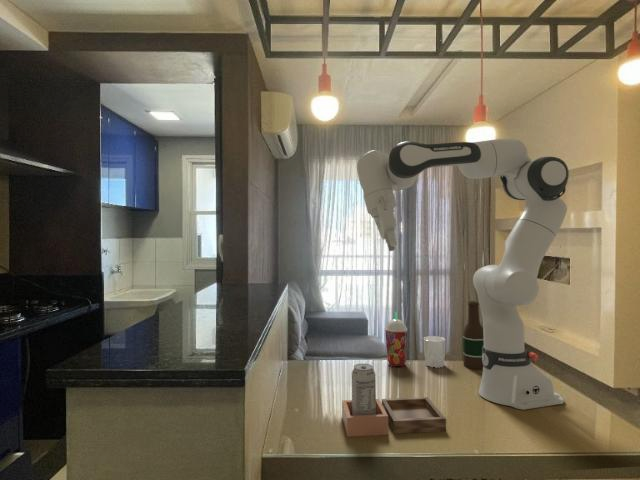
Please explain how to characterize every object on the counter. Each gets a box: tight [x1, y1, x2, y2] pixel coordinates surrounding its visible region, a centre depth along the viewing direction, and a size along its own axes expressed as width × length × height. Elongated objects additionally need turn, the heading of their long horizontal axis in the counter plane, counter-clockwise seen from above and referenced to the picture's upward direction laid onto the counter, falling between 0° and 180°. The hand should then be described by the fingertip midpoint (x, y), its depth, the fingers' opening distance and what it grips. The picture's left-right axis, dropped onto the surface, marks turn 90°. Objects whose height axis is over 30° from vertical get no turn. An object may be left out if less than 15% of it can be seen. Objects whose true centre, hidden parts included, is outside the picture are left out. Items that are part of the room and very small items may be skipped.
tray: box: [381, 396, 447, 434], centre depth 98 cm, size 13×13×3 cm
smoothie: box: [384, 311, 408, 367], centre depth 143 cm, size 8×8×20 cm
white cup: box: [423, 335, 446, 369], centre depth 142 cm, size 8×8×10 cm
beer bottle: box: [462, 300, 484, 370], centre depth 140 cm, size 8×8×24 cm
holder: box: [341, 398, 389, 438], centre depth 95 cm, size 10×10×4 cm
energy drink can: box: [351, 363, 377, 416], centre depth 96 cm, size 6×6×15 cm
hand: (393, 248), depth 109 cm, fingers open, 8 cm apart
